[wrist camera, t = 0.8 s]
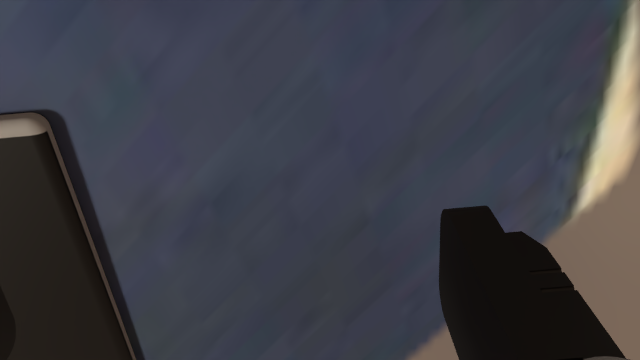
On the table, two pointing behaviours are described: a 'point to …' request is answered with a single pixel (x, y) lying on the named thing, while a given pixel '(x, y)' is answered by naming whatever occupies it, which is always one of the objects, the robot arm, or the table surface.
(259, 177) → the table surface
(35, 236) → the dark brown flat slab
